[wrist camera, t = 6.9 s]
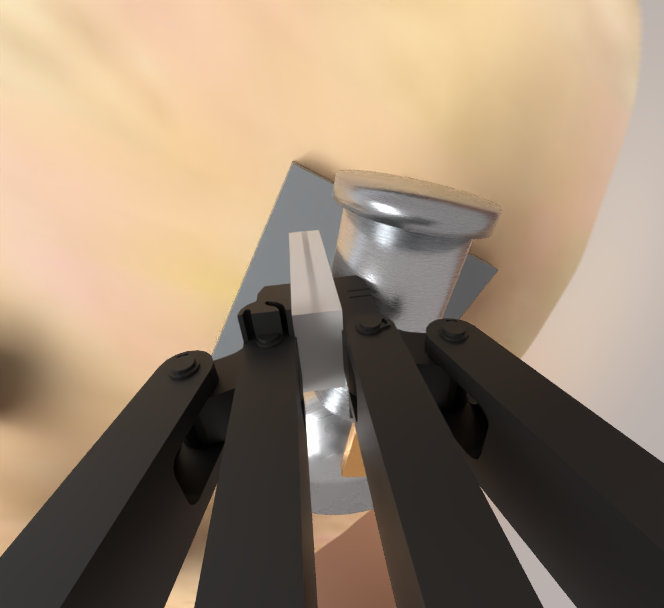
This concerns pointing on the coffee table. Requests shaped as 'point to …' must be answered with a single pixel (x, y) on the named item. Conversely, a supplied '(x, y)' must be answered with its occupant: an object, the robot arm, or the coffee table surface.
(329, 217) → the base
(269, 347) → the robot arm
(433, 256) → the elbow
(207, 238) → the coffee table surface
